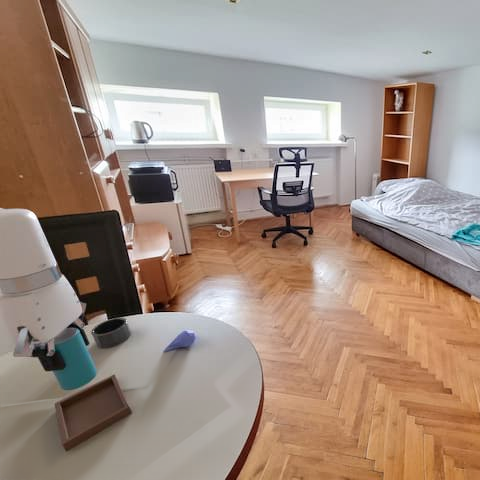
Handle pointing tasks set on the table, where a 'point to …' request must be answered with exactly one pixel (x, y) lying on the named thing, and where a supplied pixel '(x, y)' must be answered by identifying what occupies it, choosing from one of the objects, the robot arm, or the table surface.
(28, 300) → the robot arm
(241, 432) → the table surface
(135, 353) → the table surface
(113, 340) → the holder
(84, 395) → the tray
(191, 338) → the blue teardrop shape
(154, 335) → the table surface
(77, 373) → the can
